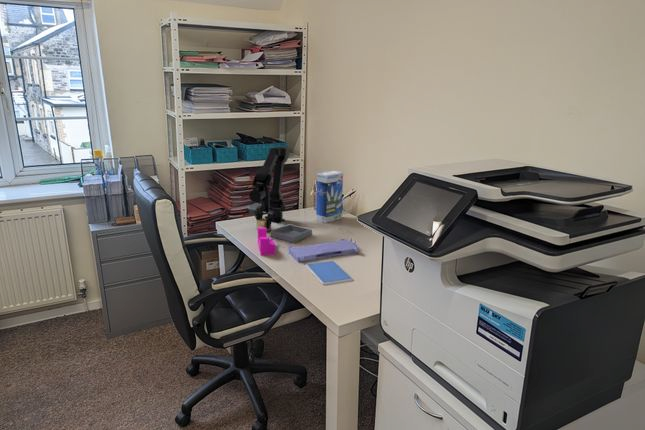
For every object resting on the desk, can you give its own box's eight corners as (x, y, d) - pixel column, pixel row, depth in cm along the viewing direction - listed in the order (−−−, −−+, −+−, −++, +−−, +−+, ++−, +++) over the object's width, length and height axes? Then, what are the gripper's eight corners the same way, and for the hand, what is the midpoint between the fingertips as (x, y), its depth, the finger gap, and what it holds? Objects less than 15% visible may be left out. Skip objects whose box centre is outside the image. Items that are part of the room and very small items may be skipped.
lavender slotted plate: (363, 254, 188) (347, 243, 201) (364, 245, 187) (347, 234, 200) (299, 265, 175) (286, 252, 188) (299, 255, 174) (286, 243, 187)
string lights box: (325, 223, 228) (326, 175, 220) (315, 220, 233) (316, 173, 225) (341, 218, 237) (343, 172, 229) (331, 215, 242) (333, 170, 234)
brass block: (263, 227, 218) (263, 217, 216) (271, 229, 215) (271, 219, 213) (256, 229, 214) (256, 220, 212) (264, 231, 211) (264, 222, 210)
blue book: (305, 266, 175) (305, 263, 174) (333, 262, 179) (333, 259, 179) (322, 286, 157) (322, 283, 157) (353, 282, 162) (354, 278, 162)
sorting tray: (289, 229, 216) (289, 223, 216) (311, 235, 209) (311, 229, 208) (270, 236, 206) (270, 230, 205) (293, 243, 198) (293, 237, 197)
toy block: (275, 254, 185) (275, 238, 182) (260, 255, 183) (260, 239, 181) (271, 242, 199) (271, 227, 196) (257, 243, 197) (257, 227, 195)
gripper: (237, 197, 208) (238, 227, 213) (266, 203, 198) (266, 235, 203) (254, 192, 217) (254, 222, 222) (282, 199, 207) (282, 230, 211)
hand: (263, 227), depth 214 cm, fingers closed on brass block, 5 cm apart
